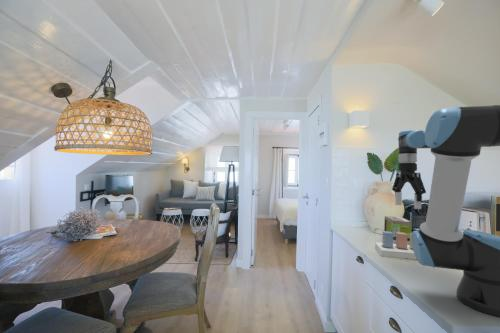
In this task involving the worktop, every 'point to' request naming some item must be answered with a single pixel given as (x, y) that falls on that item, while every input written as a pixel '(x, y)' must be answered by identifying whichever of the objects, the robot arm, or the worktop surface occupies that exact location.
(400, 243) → the terracotta block
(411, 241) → the ochre block
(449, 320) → the worktop surface
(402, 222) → the tea box
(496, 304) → the robot arm
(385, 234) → the slate block
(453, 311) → the worktop surface
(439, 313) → the worktop surface
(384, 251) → the board
